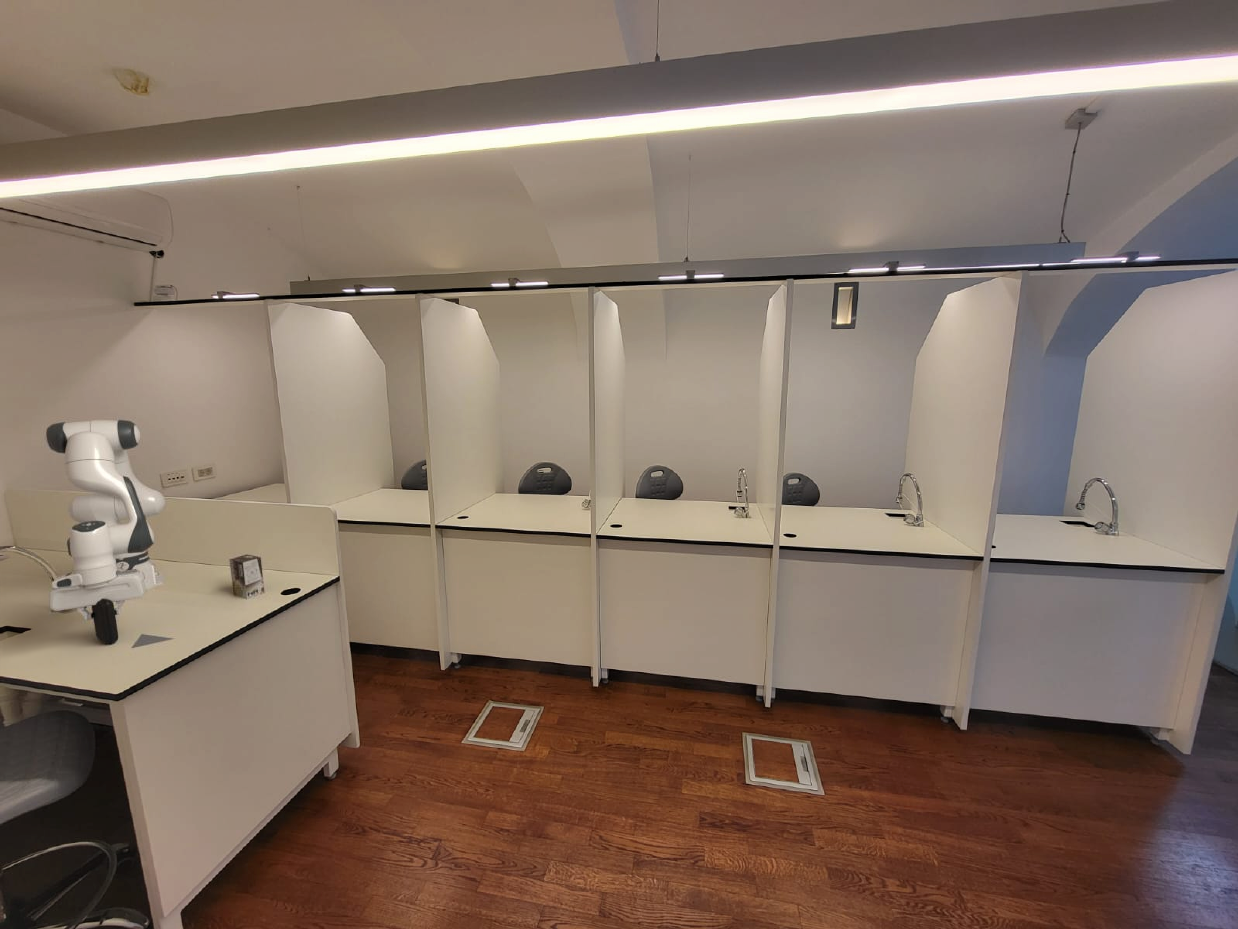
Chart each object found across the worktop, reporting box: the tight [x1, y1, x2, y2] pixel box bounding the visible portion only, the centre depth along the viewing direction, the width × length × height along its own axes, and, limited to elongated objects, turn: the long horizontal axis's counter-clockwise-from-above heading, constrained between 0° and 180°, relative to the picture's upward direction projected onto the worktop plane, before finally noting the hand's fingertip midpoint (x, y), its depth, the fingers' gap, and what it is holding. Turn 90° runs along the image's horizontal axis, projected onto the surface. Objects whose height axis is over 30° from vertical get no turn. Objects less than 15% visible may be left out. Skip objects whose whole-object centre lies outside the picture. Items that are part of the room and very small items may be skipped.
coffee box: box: [229, 553, 265, 600], centre depth 179 cm, size 9×6×16 cm
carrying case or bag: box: [91, 598, 119, 645], centre depth 147 cm, size 11×3×15 cm, turn 64°
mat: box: [131, 633, 175, 649], centre depth 159 cm, size 22×22×1 cm
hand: (103, 616), depth 147 cm, fingers closed on carrying case or bag, 5 cm apart
